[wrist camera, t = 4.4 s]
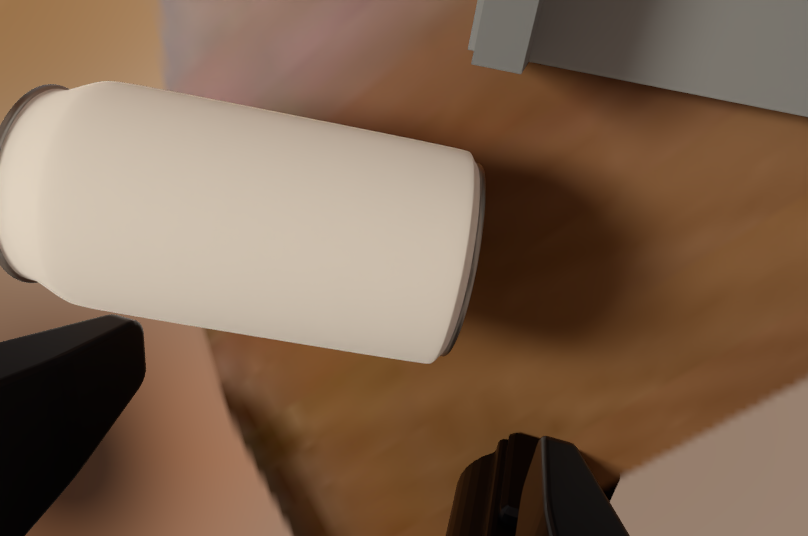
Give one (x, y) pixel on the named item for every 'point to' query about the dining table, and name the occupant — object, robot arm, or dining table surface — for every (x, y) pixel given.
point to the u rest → (658, 44)
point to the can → (240, 219)
